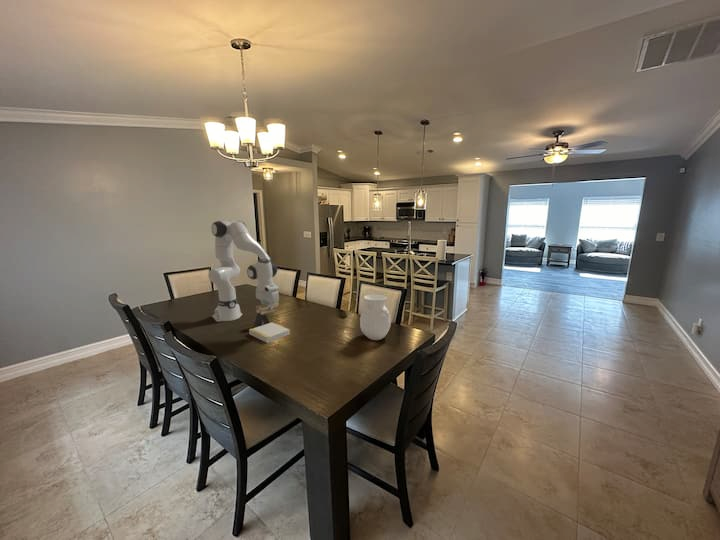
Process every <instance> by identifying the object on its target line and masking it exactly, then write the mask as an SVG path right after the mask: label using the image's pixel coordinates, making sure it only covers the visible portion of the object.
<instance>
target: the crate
mask: <svg viewBox="0 0 720 540" xmlns="http://www.w3.org/2000/svg"><path fill="white" fill-rule="evenodd" d="M262 302H263V305H264V306H270V303H268V302H266V300H265V299H262Z"/></svg>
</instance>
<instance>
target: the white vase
mask: <svg viewBox="0 0 720 540" xmlns="http://www.w3.org/2000/svg"><path fill="white" fill-rule="evenodd" d="M363 301H364V302H365V303H364V305H363V310H362V311H361V313H360V318H359V323H360V324H359V325H360V326H359V327H360V330H361V332H362V333H363V335H364V336H366V337H367V338H368V339H369V340H372V341H379V340H382V339H384V338H385V337H386V336H387V334H388V332H389V331H390V329H391V325H392V318H391V315H390V311H389V308H388V307H386V303H387V296H386V295H384V294H378V293H371V294H365V295H364V296H363Z"/></svg>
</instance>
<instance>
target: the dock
mask: <svg viewBox="0 0 720 540" xmlns="http://www.w3.org/2000/svg"><path fill="white" fill-rule="evenodd" d="M261 325H262V324H261ZM248 331H249V332H248V333H249V335H250V336H252V337H254V338H256V339H258V340H261V341H262V342H265V343H267V344H269V343H271V342H273V341H277V340H279V339H282V338H284V337H286V336H287V337H288V336H290V335H291V330H290V329H289V328H286V327H284V326H281V325H279V324H277V323H275V322H270V323H268V324H265V325H262V326H259V327H256V328H255V327H254V328H249V329H248Z"/></svg>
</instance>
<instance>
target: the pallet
mask: <svg viewBox="0 0 720 540" xmlns="http://www.w3.org/2000/svg"><path fill="white" fill-rule="evenodd" d="M269 307H270V306H264V305H262V304H261V305H256V306H255V311H256V314H257V313H260V314H261V315H263V314H266V315H267V314H269V313H273V312H275V311H280V303H279V302H278V303H277V304H274V305H273V309H272V310H270V309H269Z"/></svg>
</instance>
